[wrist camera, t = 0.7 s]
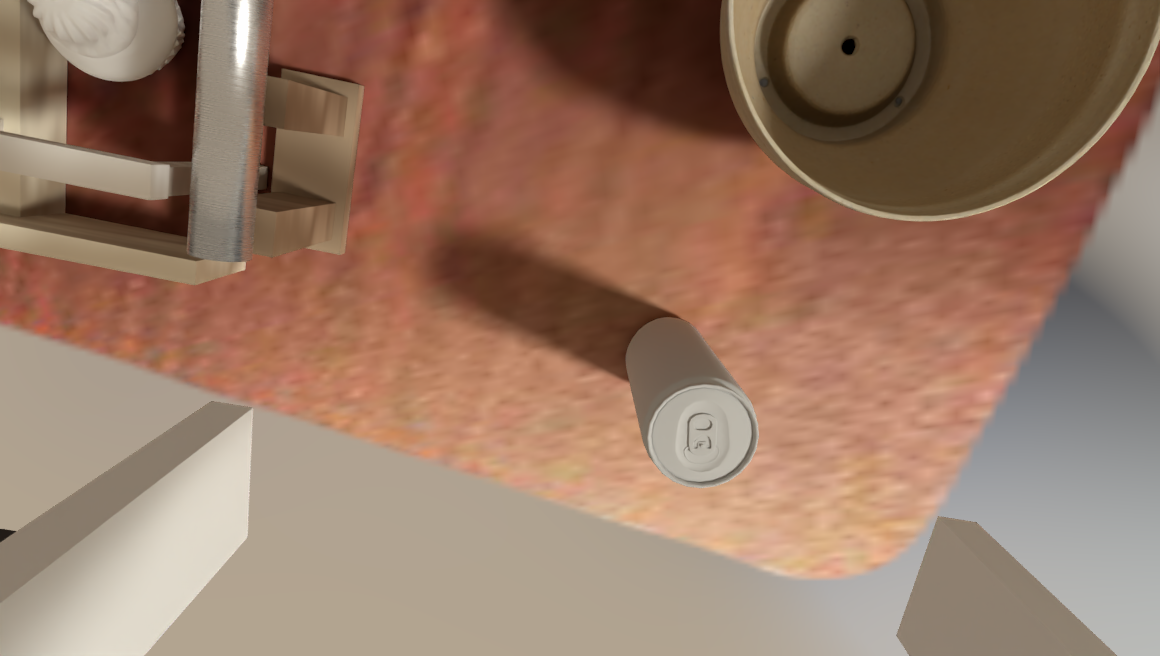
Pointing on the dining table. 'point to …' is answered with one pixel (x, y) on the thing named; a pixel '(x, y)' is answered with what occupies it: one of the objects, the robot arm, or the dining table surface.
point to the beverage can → (689, 405)
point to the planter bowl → (932, 93)
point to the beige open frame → (76, 171)
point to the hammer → (228, 128)
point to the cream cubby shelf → (309, 164)
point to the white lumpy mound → (113, 34)
